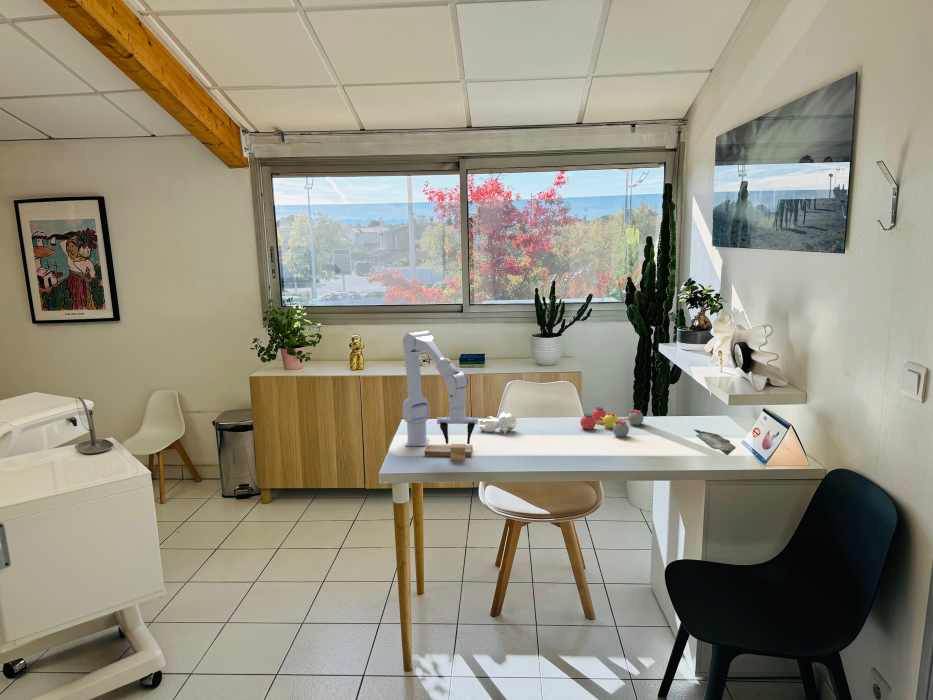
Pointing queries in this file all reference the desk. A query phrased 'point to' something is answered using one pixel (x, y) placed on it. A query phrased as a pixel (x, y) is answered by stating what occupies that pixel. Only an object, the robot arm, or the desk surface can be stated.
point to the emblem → (715, 441)
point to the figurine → (499, 423)
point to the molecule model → (611, 421)
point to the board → (444, 450)
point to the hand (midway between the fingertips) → (457, 443)
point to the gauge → (458, 452)
